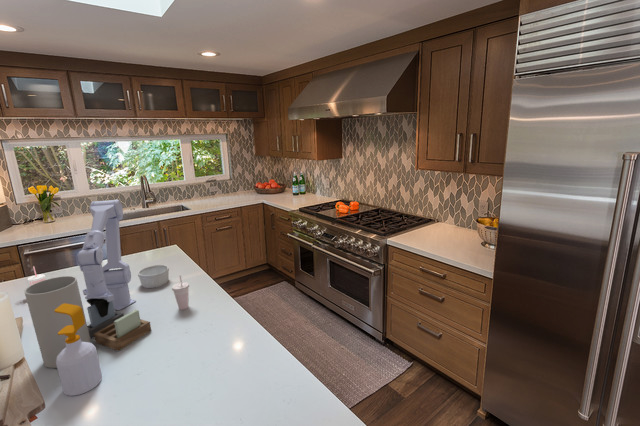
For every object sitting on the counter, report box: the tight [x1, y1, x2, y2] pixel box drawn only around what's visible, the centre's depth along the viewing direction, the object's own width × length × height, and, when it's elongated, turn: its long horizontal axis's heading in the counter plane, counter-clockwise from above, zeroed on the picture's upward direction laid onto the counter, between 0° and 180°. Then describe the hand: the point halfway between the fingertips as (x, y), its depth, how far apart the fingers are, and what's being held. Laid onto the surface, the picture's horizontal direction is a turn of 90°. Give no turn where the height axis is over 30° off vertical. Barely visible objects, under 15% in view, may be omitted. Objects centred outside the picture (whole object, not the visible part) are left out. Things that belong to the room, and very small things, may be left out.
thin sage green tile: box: [114, 309, 141, 339], centre depth 114 cm, size 1×8×9 cm, turn 155°
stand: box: [87, 310, 125, 340], centre depth 122 cm, size 4×12×3 cm, turn 155°
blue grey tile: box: [86, 301, 116, 328], centre depth 121 cm, size 1×8×9 cm, turn 156°
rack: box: [93, 318, 152, 352], centre depth 116 cm, size 12×12×4 cm
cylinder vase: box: [23, 275, 92, 369], centre depth 104 cm, size 12×12×25 cm
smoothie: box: [171, 275, 190, 311], centre depth 133 cm, size 6×6×14 cm
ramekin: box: [137, 264, 170, 289], centre depth 157 cm, size 13×13×7 cm
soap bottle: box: [54, 303, 103, 397], centre depth 91 cm, size 9×9×25 cm
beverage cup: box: [27, 265, 46, 286], centre depth 148 cm, size 6×6×14 cm
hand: (102, 315), depth 121 cm, fingers closed on blue grey tile, 1 cm apart
